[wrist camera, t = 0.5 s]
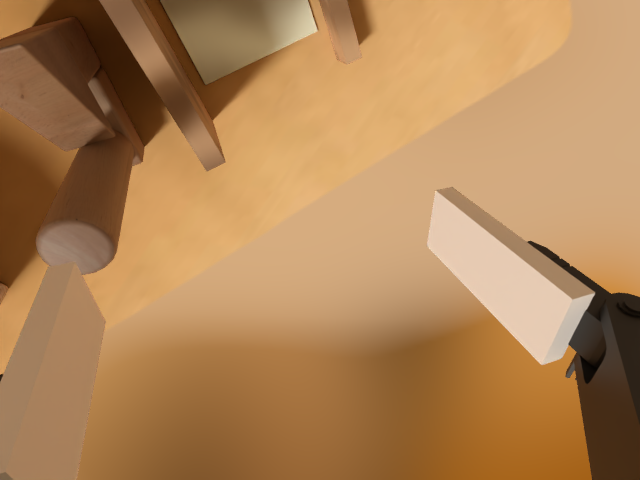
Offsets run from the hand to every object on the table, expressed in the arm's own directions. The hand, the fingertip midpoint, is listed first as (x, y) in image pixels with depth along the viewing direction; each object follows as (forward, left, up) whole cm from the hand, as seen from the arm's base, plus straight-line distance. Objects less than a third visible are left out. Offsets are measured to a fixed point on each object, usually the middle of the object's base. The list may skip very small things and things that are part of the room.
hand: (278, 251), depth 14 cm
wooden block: (-4, -9, -26) cm, 27 cm away
